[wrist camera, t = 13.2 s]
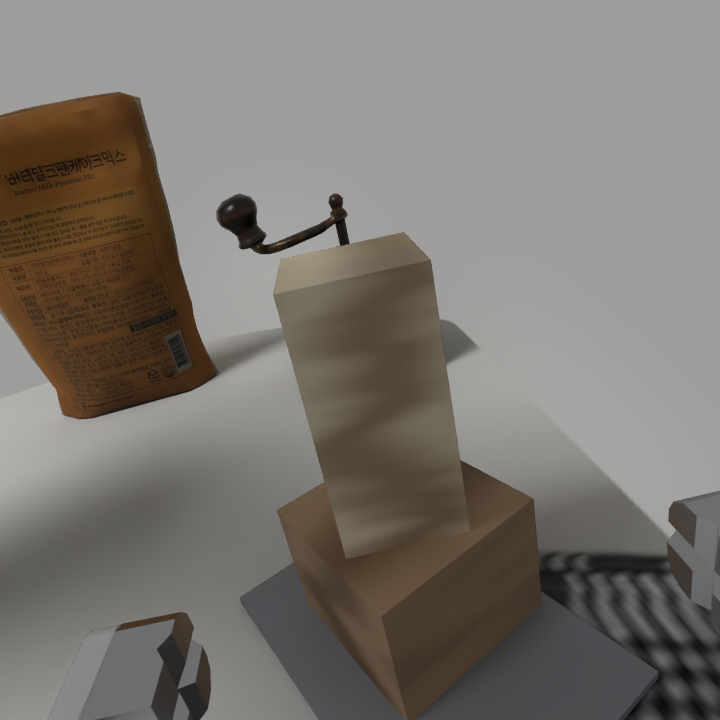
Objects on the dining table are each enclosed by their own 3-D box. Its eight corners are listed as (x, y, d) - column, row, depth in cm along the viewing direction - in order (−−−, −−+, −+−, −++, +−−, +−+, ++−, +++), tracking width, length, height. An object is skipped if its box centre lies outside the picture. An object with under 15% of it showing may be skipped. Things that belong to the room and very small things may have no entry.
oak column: (346, 559, 21) (273, 294, 17) (339, 482, 26) (280, 259, 21) (470, 531, 21) (430, 260, 17) (441, 459, 26) (403, 232, 21)
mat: (241, 603, 28) (239, 597, 28) (400, 498, 33) (399, 493, 33) (455, 924, 16) (453, 917, 16) (658, 678, 21) (658, 671, 21)
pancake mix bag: (231, 386, 54) (130, 83, 43) (37, 440, 52) (-124, 133, 41) (230, 362, 61) (142, 91, 49) (57, 409, 58) (-78, 135, 47)
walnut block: (307, 603, 27) (276, 510, 25) (425, 520, 31) (408, 432, 28) (409, 725, 21) (381, 616, 18) (541, 602, 24) (533, 498, 22)
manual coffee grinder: (402, 332, 59) (371, 161, 51) (440, 370, 49) (408, 164, 41) (263, 372, 56) (211, 198, 49) (273, 419, 46) (209, 210, 39)
